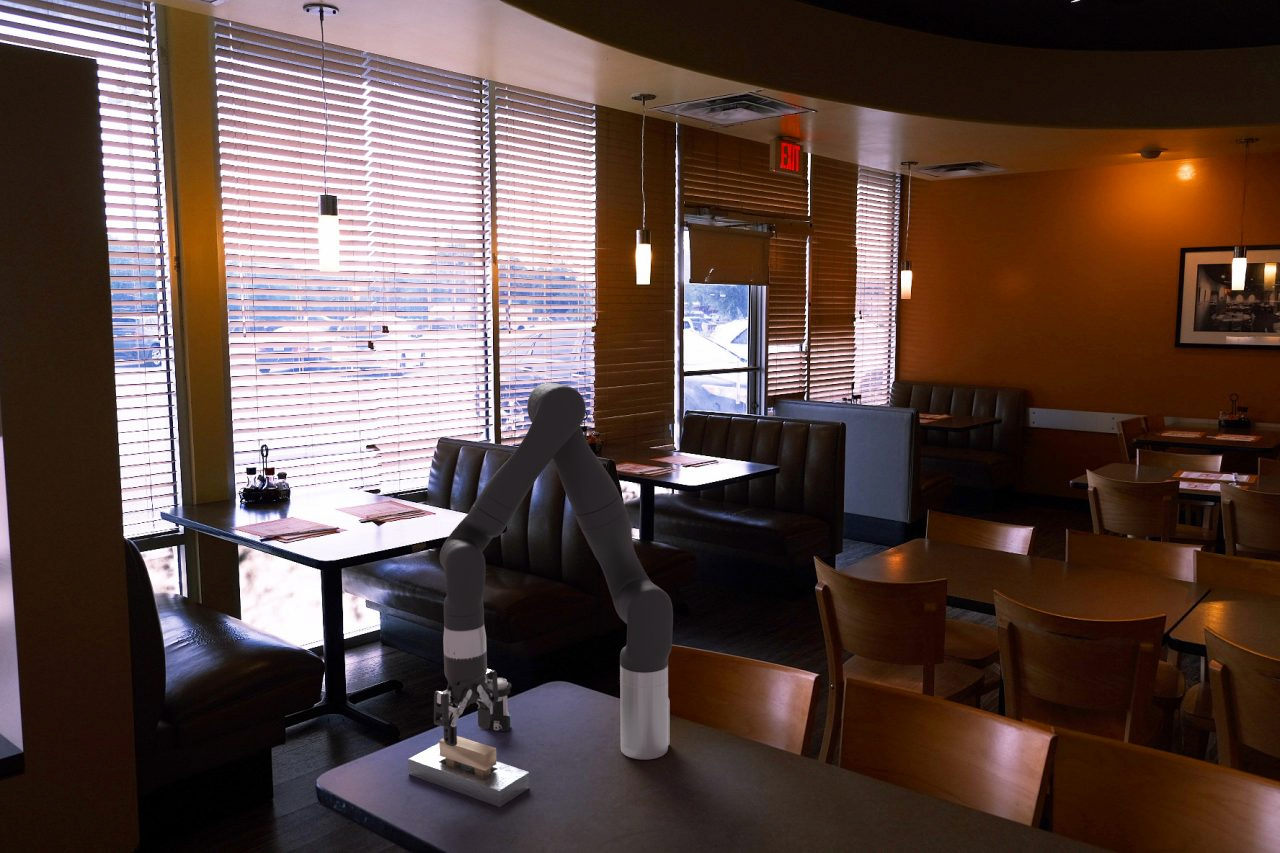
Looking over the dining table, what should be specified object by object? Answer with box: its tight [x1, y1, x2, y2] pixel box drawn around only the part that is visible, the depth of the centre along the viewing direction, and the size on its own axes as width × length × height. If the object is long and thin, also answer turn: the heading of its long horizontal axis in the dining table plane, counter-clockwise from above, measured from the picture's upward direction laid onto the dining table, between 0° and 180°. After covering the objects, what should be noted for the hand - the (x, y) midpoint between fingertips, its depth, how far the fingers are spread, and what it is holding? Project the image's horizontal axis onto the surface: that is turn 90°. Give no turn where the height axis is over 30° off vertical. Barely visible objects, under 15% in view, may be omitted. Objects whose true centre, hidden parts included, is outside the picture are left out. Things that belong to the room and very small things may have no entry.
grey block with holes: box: [408, 742, 530, 808], centre depth 175 cm, size 8×22×3 cm, turn 57°
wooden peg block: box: [438, 735, 497, 778], centre depth 175 cm, size 3×11×7 cm, turn 57°
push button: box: [487, 677, 512, 732], centre depth 197 cm, size 7×5×10 cm
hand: (468, 735), depth 174 cm, fingers open, 8 cm apart
